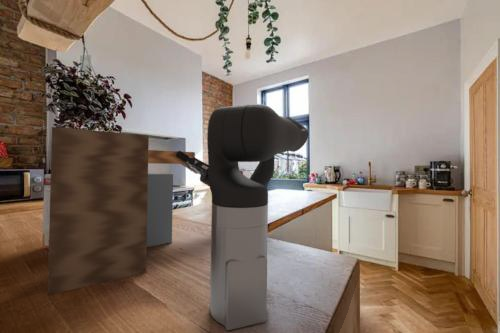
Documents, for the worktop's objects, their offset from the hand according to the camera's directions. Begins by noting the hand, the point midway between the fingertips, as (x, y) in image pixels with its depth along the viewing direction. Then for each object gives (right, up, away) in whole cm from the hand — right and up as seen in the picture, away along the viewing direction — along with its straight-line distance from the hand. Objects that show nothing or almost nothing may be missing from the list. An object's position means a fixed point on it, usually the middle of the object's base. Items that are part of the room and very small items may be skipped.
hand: (175, 153), depth 74 cm
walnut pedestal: (-7, -27, -26) cm, 38 cm away
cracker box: (-26, -28, -10) cm, 39 cm away
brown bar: (-5, -3, -3) cm, 7 cm away
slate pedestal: (-9, -28, -6) cm, 30 cm away
